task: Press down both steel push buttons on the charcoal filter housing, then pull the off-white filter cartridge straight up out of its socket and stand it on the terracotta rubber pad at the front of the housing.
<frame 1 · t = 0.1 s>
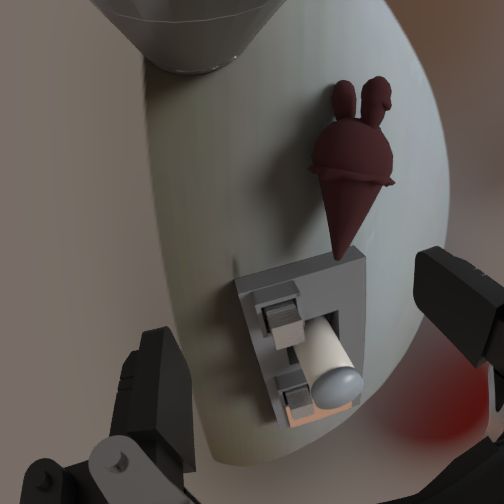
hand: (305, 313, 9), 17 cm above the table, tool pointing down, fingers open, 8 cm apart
housing: (309, 351, 34), on the table
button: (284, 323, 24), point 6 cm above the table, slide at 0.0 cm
icecream: (334, 160, 25), on the table
cartridge: (305, 324, 32), resting in housing
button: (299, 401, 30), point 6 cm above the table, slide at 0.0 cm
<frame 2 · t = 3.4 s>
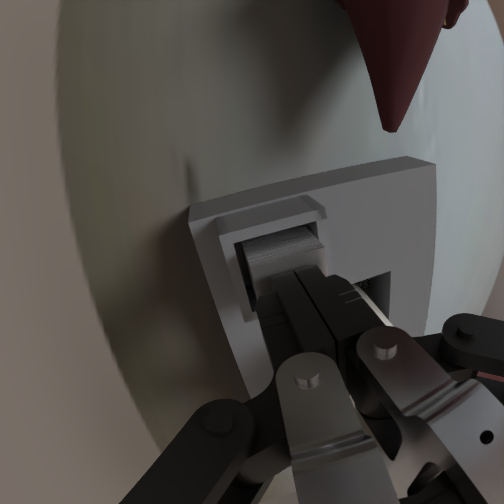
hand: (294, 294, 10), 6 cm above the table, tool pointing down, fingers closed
housing: (331, 355, 20), on the table
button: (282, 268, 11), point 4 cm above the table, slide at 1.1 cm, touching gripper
icecream: (358, 1, 11), on the table
cartridge: (327, 305, 18), resting in housing
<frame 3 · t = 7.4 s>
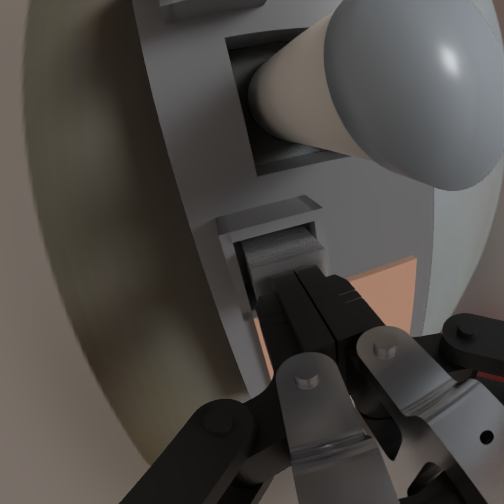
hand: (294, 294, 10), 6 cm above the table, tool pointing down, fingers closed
housing: (310, 185, 15), on the table
cartridge: (294, 97, 13), resting in housing
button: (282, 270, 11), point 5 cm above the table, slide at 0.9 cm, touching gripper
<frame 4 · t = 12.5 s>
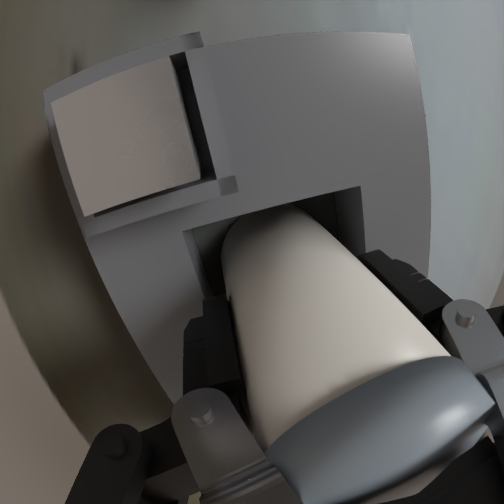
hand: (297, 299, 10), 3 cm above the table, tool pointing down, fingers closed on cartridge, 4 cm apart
housing: (290, 336, 15), on the table
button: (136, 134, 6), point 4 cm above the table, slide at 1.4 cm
cartridge: (274, 255, 13), resting in housing, touching gripper
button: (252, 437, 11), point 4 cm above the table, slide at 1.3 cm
when the fingers open (8 cm above the table, at t = 18.8 s): cartridge drops 1 cm, resting on housing.
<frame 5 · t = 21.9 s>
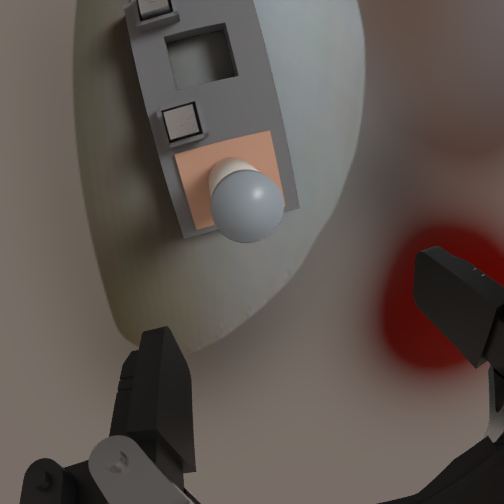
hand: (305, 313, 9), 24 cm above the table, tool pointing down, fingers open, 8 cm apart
housing: (210, 100, 27), on the table
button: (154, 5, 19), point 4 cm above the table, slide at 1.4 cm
cartridge: (232, 179, 28), point 3 cm above the table, touching housing
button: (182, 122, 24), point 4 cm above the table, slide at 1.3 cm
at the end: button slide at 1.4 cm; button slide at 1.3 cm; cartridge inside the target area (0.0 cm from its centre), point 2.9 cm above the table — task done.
